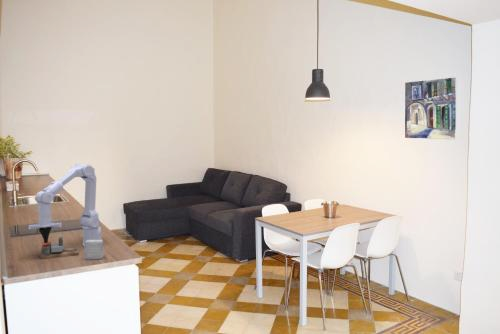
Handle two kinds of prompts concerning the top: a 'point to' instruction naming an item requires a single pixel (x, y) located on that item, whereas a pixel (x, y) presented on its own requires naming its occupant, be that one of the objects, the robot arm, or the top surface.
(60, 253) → the rail bed
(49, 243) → the button
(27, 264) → the top surface
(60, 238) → the carriage
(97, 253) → the medicine box
